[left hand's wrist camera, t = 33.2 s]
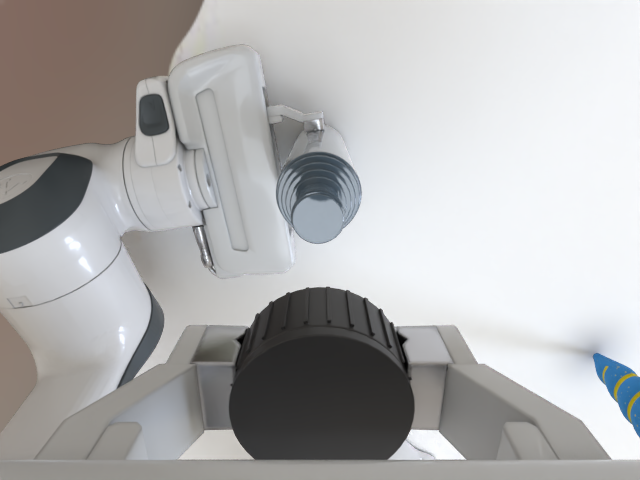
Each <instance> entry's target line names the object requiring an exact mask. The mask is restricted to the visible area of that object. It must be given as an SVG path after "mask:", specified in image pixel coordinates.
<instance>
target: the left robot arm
mask: <svg viewBox="0 0 640 480" xmlns="http://www.w3.org/2000/svg"><path fill="white" fill-rule="evenodd" d="M247 328H249V327H248V326H220V325H209V326H208V325H189V326H187V327H186V328H185V330H184V332H183V333H182V335H181V337H180V339H179V340H178V342H177V344H176V346H175V348H174V349H173V351H172V353H171V355H170V356H169V358H168V360H167V362H166V364H158V365H157V366H155V367H153V368H152V369H150V370H148V371H146V372H145V373H143V374H141V375H140V376H138V377H136V378H135V379H133V380H131V381H129V382H128V383H126V384H124V385H123V386H121V387H119V388H117V389H116V390H114V391H112V392H111V393H109V394H107V395H106V396H104V397H102V398H100V399H99V400H97V401H95V402H94V403H92V404H90V405H88V406H87V407H85V408H83V409H82V410H80V411H78V412H77V413H75V414H73V415H71V416H70V417H68V418H66V419H65V420H63V421H62V423H61V424H60V425H59V427H58V428H57V429H56V431H55V432H54V433H53V434H52V436H51V437H50V438H49V440H48V441H47V442H46V443H45V445H44V446H43V447H42V449H41V450H40V451H39V453H38V454H37V455H36V456H35V458H34V459H33V460H0V480H640V460H612V459H611V458H610V457H609V455H608V454H607V453H606V451H605V450H604V449H603V448H602V446H601V445H600V444H599V443H598V441H597V440H596V439H595V437H594V436H593V435H592V434H591V432H590V431H589V430H588V428H587V427H586V426H585V425H584V423H583V422H582V421H581V420H579V419H578V418H576V417H574V416H573V415H571V414H569V413H567V412H566V411H564V410H562V409H561V408H559V407H557V406H555V405H554V404H552V403H550V402H549V401H547V400H545V399H543V398H542V397H540V396H538V395H537V394H535V393H533V392H531V391H530V390H528V389H526V388H525V387H523V386H521V385H519V384H518V383H516V382H514V381H513V380H511V379H509V378H507V377H506V376H504V375H502V374H501V373H499V372H497V371H495V370H494V369H492V368H490V367H489V366H487V365H485V364H478V363H477V361H476V359H475V358H474V356H473V354H472V352H471V351H470V349H469V347H468V346H467V344H466V342H465V340H464V339H463V337H462V335H461V334H460V332H459V330H458V328H457V327H456V326H455V325H437V326H401V327H394V328H395V331H396V334H397V337H398V341H399V344H400V347H401V348H402V354H403V357H404V361H405V363H404V365H405V368H406V372H407V375H408V377H411V378H412V380H410V384H411V387H412V391H413V396H414V402H415V412H414V420H413V423H412V426H411V429H418V430H439V432H440V433H441V434H442V435H443V436H444V437H445V438H446V439H447V440H448V441H449V442H450V443H451V444H452V445H453V446H454V447H455V448H456V449H457V450H458V451H459V452H460V453H461V454H462V455H463V456H464V457H465V458H466V459H467V460H177V459H178V458H179V457H180V456H181V455H182V454H183V453H184V452H185V451H186V450H187V449H188V448H189V447H190V446H191V445H192V444H193V443H194V442H195V441H196V440H197V439H198V438H199V437H200V436H201V435H202V434H203V433H204V430H225V429H232V426H231V422H230V418H229V408H228V406H229V396H230V393H231V389H232V386H230V384H233V382H234V379H235V375H236V372H237V369H235V367H236V364H237V361H238V357H239V354H240V351H241V347H242V343H243V340H244V337H245V334H246V331H247Z"/></svg>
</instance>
